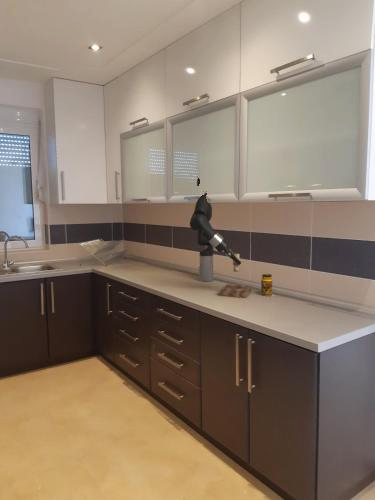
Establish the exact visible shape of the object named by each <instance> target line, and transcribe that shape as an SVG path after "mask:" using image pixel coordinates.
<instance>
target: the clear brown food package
mask: <svg viewBox="0 0 375 500" xmlns="http://www.w3.org/2000/svg"><path fill="white" fill-rule="evenodd" d="M252 288H253V287H252V285H242V284H241V285H239V284H225V285H223V287H221V288H220V289H219V297H228V298H238V299H239V298H243V299H247V298H248V297H249V295H251V294H252Z"/></svg>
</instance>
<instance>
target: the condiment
mask: <svg viewBox="0 0 375 500" xmlns="http://www.w3.org/2000/svg"><path fill="white" fill-rule="evenodd" d="M272 276H273V275H272V274H270V273H263V274H262V276H261V282H260V283H261V286H260V287H261V290H260V291H261V293H258V296H261V297H263V298H267V297H270V298H271V297H275V296H276V295H275V294H273V277H272Z"/></svg>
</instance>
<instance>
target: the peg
mask: <svg viewBox="0 0 375 500" xmlns="http://www.w3.org/2000/svg"><path fill="white" fill-rule="evenodd" d="M234 255H235V256H236V257H237V259H238V260H240V253H234ZM233 258H234V256H233ZM232 265H233V272H234V273H235V272H236V273H238V272H239V271H240V265H238V264H237V263H236V262H235V261H233V260H232Z"/></svg>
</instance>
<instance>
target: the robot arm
mask: <svg viewBox="0 0 375 500" xmlns="http://www.w3.org/2000/svg"><path fill="white" fill-rule="evenodd" d="M197 178H198V177H197ZM197 178H196V187H197V186H199V184H200V179H199V178H198V179H197ZM206 195H207V193H206V192H204V195H202V196H201V197H200V198H199V199H198V198H197V200H196V202H195V206H194V210H193V213H192V214H191V215H192V216H191V218H190V221H189V227H190V228H191V229H192V230H193V231H197V236H196V240H197V244H198V245H199V246H207V248H205V249H202V250H200V251H199V266H198V281H199V282H212V281H214V249H215V250H216V251H217V252H218V253H222V252H224V254H225V256H227V257H228V258H229V259H231V260H232V262H233V261H235V262H236V263H237V264H238V265H239V266H240V265H241V264H242V262H241V260H240V259H239V260H238V259H237V257H236V256H235V255H234V254H235V252H233V250H232V249H230V247H228V246H229V242H228V241H227V240H226V239H225V238H224V237H223V236H222V235H221V234H220V233H218V232H217V231H216V229H214V227H212V225H211V223H210V221H211V219H212V217H213V206H212V204H211V203H210V202H209V203H208V202H207V199H206ZM233 256H234V258H233Z"/></svg>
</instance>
